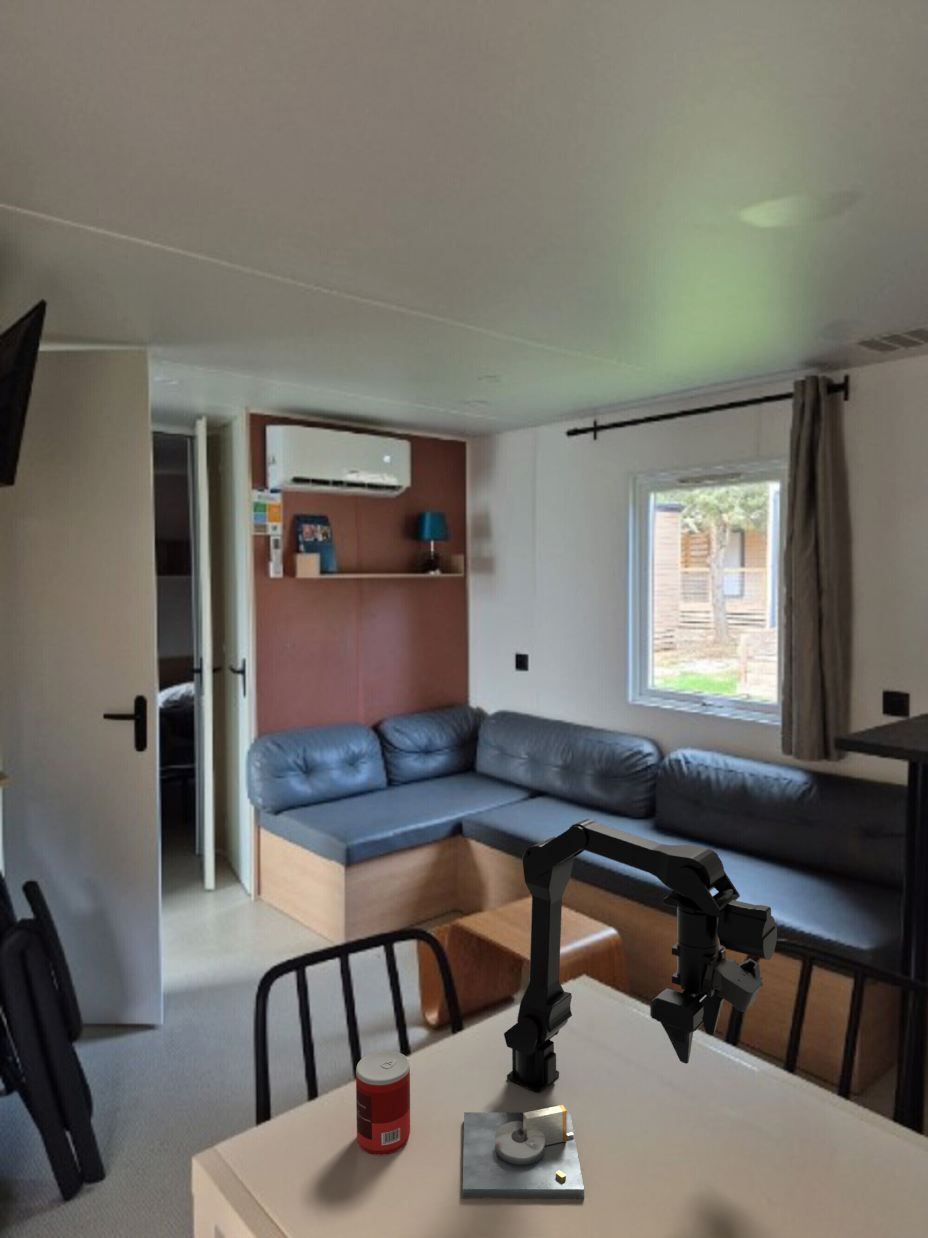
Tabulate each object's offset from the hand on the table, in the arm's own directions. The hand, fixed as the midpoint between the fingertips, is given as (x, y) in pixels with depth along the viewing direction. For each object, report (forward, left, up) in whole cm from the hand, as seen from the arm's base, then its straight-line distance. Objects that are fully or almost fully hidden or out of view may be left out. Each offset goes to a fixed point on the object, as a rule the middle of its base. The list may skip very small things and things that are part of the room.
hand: (697, 1048), depth 117 cm
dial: (-18, -16, -13) cm, 27 cm away
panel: (-19, -17, -15) cm, 30 cm away
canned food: (-37, -26, -15) cm, 48 cm away
